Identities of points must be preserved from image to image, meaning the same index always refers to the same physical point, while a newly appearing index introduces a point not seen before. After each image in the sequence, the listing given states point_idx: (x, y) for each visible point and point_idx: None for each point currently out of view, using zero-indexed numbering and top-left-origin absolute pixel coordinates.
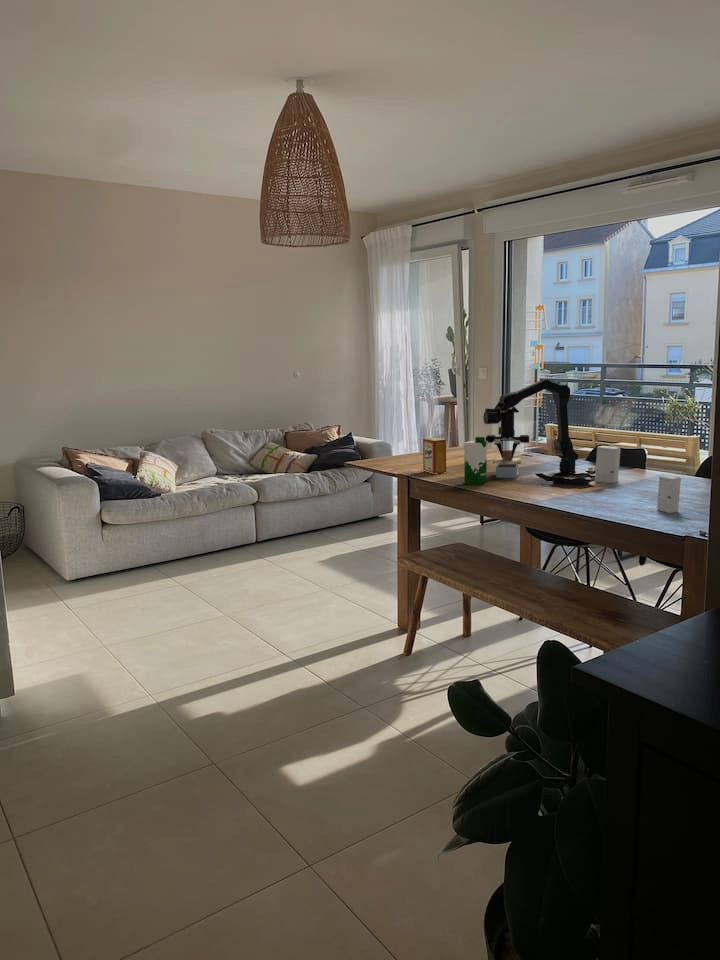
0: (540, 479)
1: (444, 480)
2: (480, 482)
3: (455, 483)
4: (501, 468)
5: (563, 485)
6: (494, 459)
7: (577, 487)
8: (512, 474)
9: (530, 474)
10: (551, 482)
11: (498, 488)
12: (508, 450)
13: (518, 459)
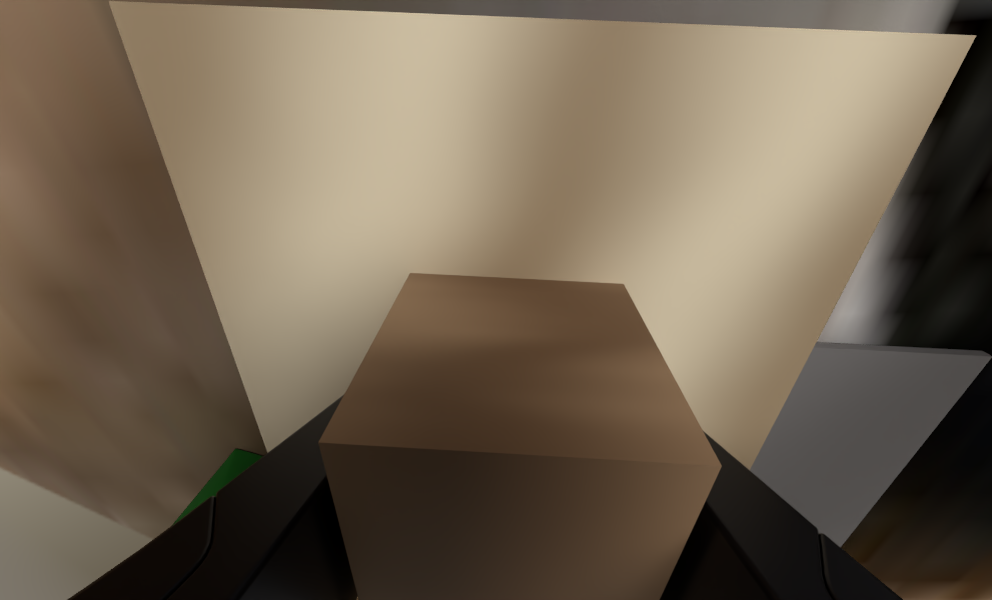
0: (826, 409)
1: (3, 419)
2: None
3: (156, 501)
4: None
5: (912, 541)
6: (229, 311)
7: (971, 580)
8: None
9: (858, 28)
10: (864, 503)
11: None
12: (549, 479)
13: (763, 310)
